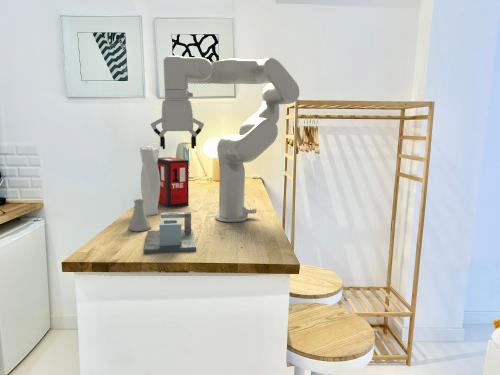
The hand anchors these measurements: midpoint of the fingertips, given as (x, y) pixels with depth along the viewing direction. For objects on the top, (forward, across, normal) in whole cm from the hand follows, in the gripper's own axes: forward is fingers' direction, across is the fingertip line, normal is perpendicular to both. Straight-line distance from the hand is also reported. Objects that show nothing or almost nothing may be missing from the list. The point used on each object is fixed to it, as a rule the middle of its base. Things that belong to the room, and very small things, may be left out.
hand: (178, 148), depth 121 cm
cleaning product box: (+28, +2, -38) cm, 47 cm away
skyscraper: (+27, +10, -21) cm, 35 cm away
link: (+25, +4, +16) cm, 30 cm away
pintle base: (+27, +5, +18) cm, 32 cm away
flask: (+27, +14, +1) cm, 30 cm away
